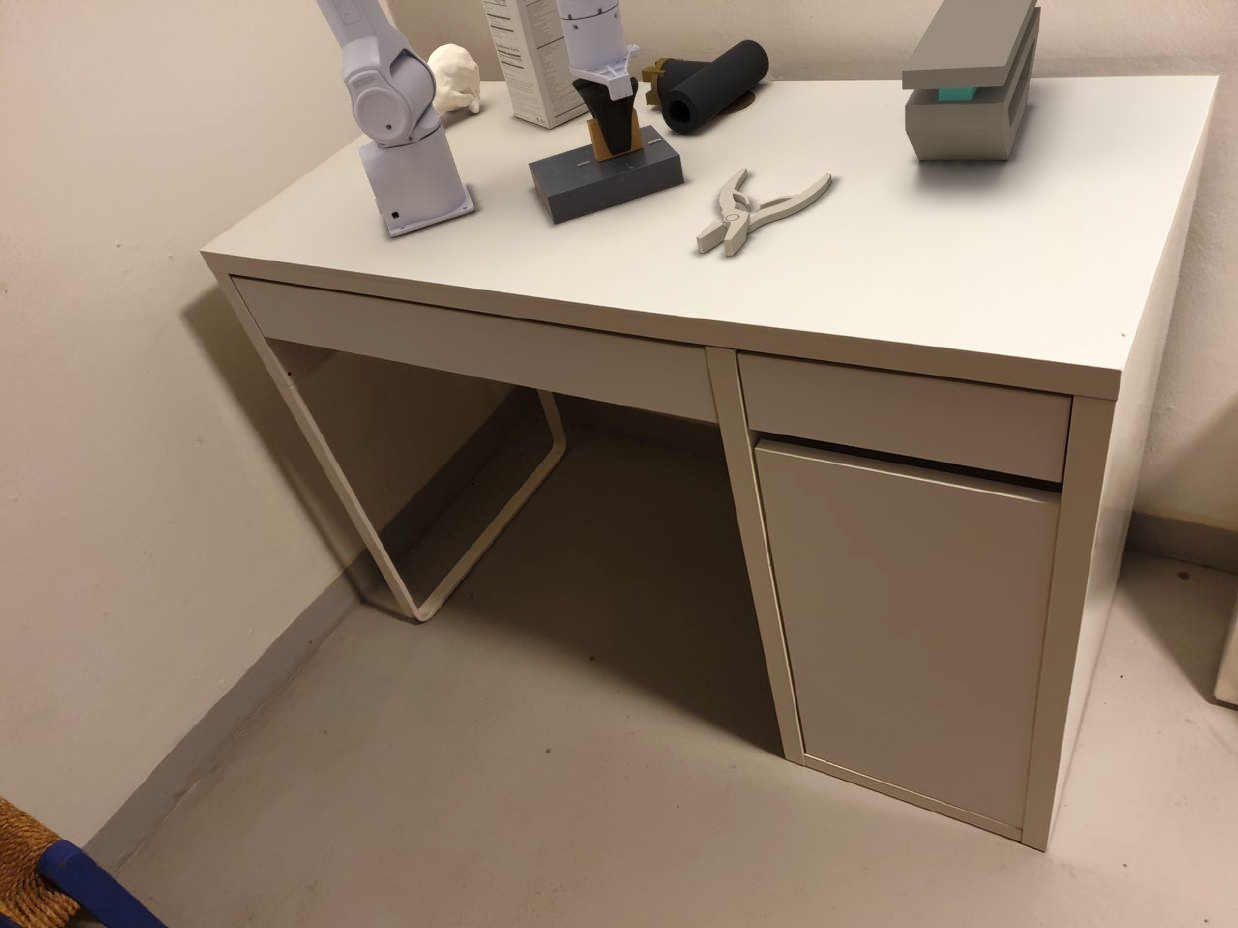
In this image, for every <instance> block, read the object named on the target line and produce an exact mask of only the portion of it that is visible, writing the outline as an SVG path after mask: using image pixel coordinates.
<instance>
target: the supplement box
mask: <svg viewBox="0 0 1238 928" xmlns="http://www.w3.org/2000/svg"><path fill="white" fill-rule="evenodd" d="M481 3H482V7H483V10H484V15H485V17H486V20H487V24H488V27H489V31H490V34H491V37H492V40H493V45H494V48H495V51H496V54H497V57H498V61H499V64H500V68H501V72H502V76H503V78H504V81H505V84H506V85H505V86H506V88H507V91H508V95H509V98H510V103H511V106H512V109H513V112H514V116H515V117H516V118H518V119H521V120H524V121H527V122H530V123H533V124H535V125H537V126H540V127H544V128H546V129H549V130H552V129H553V128H556V127H558V126H560V125H562V124H564V123H566V122H568V121H570V120H573V119H574V118H576V117H578V116H580V115H583V114H584V113H586V112H590V111H589V109H588V107H587V105H586V104H585V102H584V100H583V99H582V97H581V96H580V94H579V93H578V91H577V90H576V89H575V88H574V87H573V85H572V82H573V81H575V80H576V79H579V78H578V77H575V76H573V75H572V74H571V73H570V69H569V62H570V60H569V55H568V51H567V47H566V43H565V38H564V34H563V30H562V26H561V21H560V16H559V12H558V8H557V4H556V0H481Z"/></svg>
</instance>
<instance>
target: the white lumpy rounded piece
mask: <svg viewBox="0 0 1238 928" xmlns="http://www.w3.org/2000/svg"><path fill="white" fill-rule="evenodd" d="M426 63H427V64H428V65H429V67H430V68H431V70H432V71H433V73H434V76H435V79H436V84H437V91H436V96H435V99H434V101H433V102H432V103H433V106H434V109H435V111H436V112H437V114H438V115H439V116H440V115H442V114H443V113H445V112H455V111H457V110H459V109H460V108H462V107H468V109H469V111H470V112H471V113H472V114H477V113H479V112H480V100H481V88H480V87H481V77H480V66H479V65H478V64H477V63H476V62H475V61H474V59H473V57H472V55H471V53H470V52H469V51H468V50H467V49H466V48H465V47H462V46H459V45H457V44H455V43H446V44H444V45H441V46H439V47H438V48H436V49H435V50H434V51H433V52H432V53H431V54H430V56H429V57H428V59H427V62H426Z"/></svg>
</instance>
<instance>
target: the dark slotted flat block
mask: <svg viewBox="0 0 1238 928" xmlns="http://www.w3.org/2000/svg"><path fill="white" fill-rule="evenodd" d="M640 131H641V136H642V142H643V148H641V149H638V150H635V151H632V152H629V153H625V154H622V155H619V156H616V157H613V158H610V159H607V160H603V161H600V162H598V161H597V159H596V158H595V155H594V151H593V146H592V143H589V144H586V145H582V146H580V147H576V148H574V149H570V150H567V151H564V152H561V153H558V154H554V155H551V156H548V157H544V158H541V159H538V160H535V161H531V162H529V163H528V168H529V171H530V174H531V178H532V182H533V186H534V188H535V191H536V192H537V194H538V196H539V198H540V200H541V202H542V204H543V206H544V207H545V209H546V211H547V213H548V214H549V217H550V218H551V220H552V222H553V224H554V225H557V224H561V223H563V222H567V221H570V220H574V219H576V218H580V217H583V216H585V215H589V214H592V213H595V212H597V211H598V212H599V211H601V210H604V209H607V208H610V207H613V206H616V205H619V204H622V203H626V202H628V201H632V200H634V199H635V200H636V199H638V198H641V197H644V196H647V195H650V194H653V193H656V192H660V191H662V190H667V189H669V188H672V187H675V186H678V185H681V184H684V183H685V180H684V173H683V168H682V167H683V166H682V161H681V155H680V153H678V152H677V151H676V150H675V148H673V146H672V145H671V144H670V143H669V142H668V141H667V140H666V139H665V138H664V137H663V136H662V135H661V134H660V133H659V131H657V130H656V129H655V128H654V127H653V126H652V125H651V124H649V125H645V126H641V127H640Z"/></svg>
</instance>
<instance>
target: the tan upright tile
mask: <svg viewBox="0 0 1238 928" xmlns="http://www.w3.org/2000/svg"><path fill="white" fill-rule="evenodd" d="M637 111H638V110H637V109H636V108H635V106H633V112H632V144H631V150H630V151H627V152H623V153H620V154H617V155H614V156H613V155H612V154H611V153H610V151H609V149H608V147H607V145H606V143H605V140H604V137H603V135H602V132H601V129H600V126H599V124H598V122H597V119H596V118H593V117H592V118H590V119H587V120H586V124H587V130H588V133H589V137H590V141H591V144H592V146H593V151H594V155H595V158H596V159H597V161H598V162H600V161H603V160H607V159H610V158H613V157H616V156H619V155H622V154H625V153H629V152H632V151H635V150H638V149H641V148H643V142H642V136H641V131H640V128H641V125H640V122H639V121H640V120H639V117H638V112H637Z"/></svg>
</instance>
